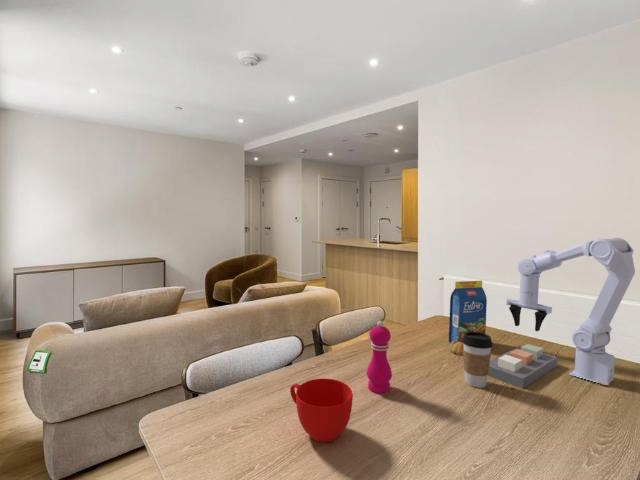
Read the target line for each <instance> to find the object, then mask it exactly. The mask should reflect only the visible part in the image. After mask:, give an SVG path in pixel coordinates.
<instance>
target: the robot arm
mask: <svg viewBox="0 0 640 480" xmlns="http://www.w3.org/2000/svg"><path fill="white" fill-rule="evenodd" d="M633 254H634V249H633V247H631V245H630V244H629V243H628V241H626V240H625V239H623V238H622V237H621V238H619V237H614V238H597V239H595V240H590V241H586V242H582V243H579V244H577V245H574V246H572V247H569V248H567V249H564V250H561V251H559V252H557V251H554V250H548V249H547V250H545V251H543V253H542V254H539V255H531V258H523V259H521V260H520V261H519V262H518V263H517V270H518V272H519V273H520V284H519V300H518V299H510V298H509V299H508V298H507V299H506V306H509V307H508V309H509V311H510V313H511V315H512V318H513V320H514V321H513V322H514V326H515V327H519V326H520V324H521V323H520V321H521V312H522V308H524V309H527V310H533V311H535V312H534V317H535V318H534V319H535V326H534V330H535V332H540V330H541V326H542V324H543V322H544V320H545V318H546V317H547V316H548V315H549V314H552V313H553V312H552V311H553V307H552V306H548V305H544V304H542V303H541V304H540V303H539V288H540V285H539V284H540V277H541V274H542V273H543V272H546V271H549V270H553V269H556V268H560V267H561V266H562V263H563V262H565V261H569V260H572V259H576V258H580V257H583V256H586V257H593V258H594V260H596V261H598V262H599V263H600V264H601V265H602V266H603V267H604V268H605V269H606V271H607V272H608V274H607V276H606V278H605V281H604V283H603V285H602V288H601V289H600V291H599V293H598V295H597V298H596V301H595V302H594V304H593V307H592V309H591V311H590V313H589V315H588V317H587V318H586V319H585V320H584V321H583V322H582V323H581V324H580V326H579V328H578V329H577V330H576V329H575V331H574V332H573V333H572V335H571V340H572V342H573V344H574V345H575V359H574V369H573V370H572V371H571V372H569V375H570V376H572V377H575V376H576V377H575V378H578V377H579V378H578V379H581V378H583V379H582V380H584V379H586V380H585V381H587V380H590V381H593V382H597V383H598V381H599V382H602V383H605V384H609V383H610V382H611V381H612V379H613V378H614V379H615V366H616V365H615V363H616V359H615V358H616V357H615V355H614V354H611V353H608V352H607V351H606V346H607V345H609V344H610V342H611V332H612V329H613V328H612V327H611V322H612V321H613V319H614V316H615V314H616V312H617V311H618V308H619V307H620V304H621V302H622V300H623V298H624V296H625V294H626V291H627V290H628V288H629V286H630V284H631V283H632V280H633V278H634V276H635V273H636V270H635V269H636V268H635V264H634V258H633ZM590 381H589V382H590ZM593 382H592V383H593ZM612 382H613V381H612ZM612 382H611V383H612ZM597 383H596V384H597ZM611 383H610V384H611ZM610 384H609V385H610Z"/></svg>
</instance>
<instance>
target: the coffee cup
mask: <svg viewBox="0 0 640 480" xmlns="http://www.w3.org/2000/svg"><path fill="white" fill-rule="evenodd" d="M462 342H463V345H464V347H463V356H462V357H463V368H464V369H463V370H464V382H465V384H466V385H468V386H470V387H473V388H477V389H480V388H486V386H487V382H488V370H489V363H490V360H491V355H492V352H491V350H492V348H493V346H494V345H493V341H492V337H491V336H490V335H489V334H486V333H485V334H484V333H480V332H466V333H464V337H463V339H462Z"/></svg>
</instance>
